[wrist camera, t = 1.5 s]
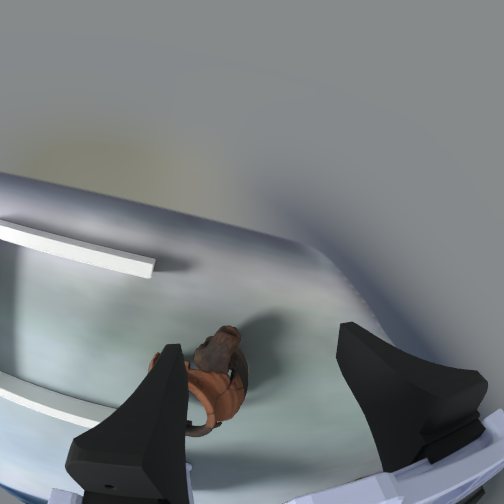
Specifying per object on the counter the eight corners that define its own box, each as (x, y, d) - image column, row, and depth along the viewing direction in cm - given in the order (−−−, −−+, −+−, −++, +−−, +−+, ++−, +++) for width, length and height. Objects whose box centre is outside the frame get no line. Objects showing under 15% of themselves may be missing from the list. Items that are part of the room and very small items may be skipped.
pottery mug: (238, 408, 31) (211, 458, 23) (167, 368, 33) (126, 407, 25) (282, 326, 28) (258, 376, 20) (194, 282, 29) (145, 313, 21)
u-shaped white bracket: (155, 258, 26) (153, 264, 24) (132, 420, 28) (129, 437, 25) (-8, 217, 22) (-23, 218, 19) (-9, 374, 23) (-20, 386, 20)
